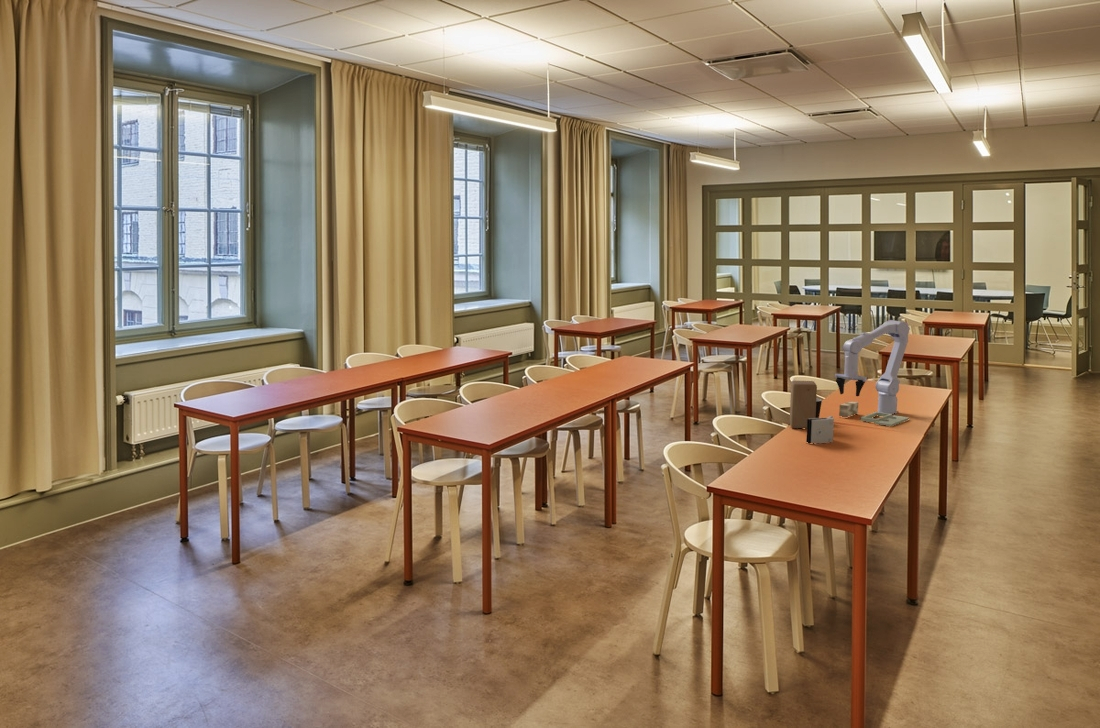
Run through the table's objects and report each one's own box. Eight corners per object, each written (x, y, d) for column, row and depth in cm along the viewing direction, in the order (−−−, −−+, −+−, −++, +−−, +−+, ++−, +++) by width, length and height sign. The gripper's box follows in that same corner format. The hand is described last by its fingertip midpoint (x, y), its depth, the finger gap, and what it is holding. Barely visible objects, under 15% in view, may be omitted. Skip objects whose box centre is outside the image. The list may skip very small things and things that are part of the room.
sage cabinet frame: (877, 415, 384) (877, 411, 383) (909, 420, 373) (909, 415, 373) (858, 422, 370) (859, 417, 369) (890, 427, 359) (891, 422, 359)
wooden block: (815, 430, 354) (817, 384, 351) (791, 429, 356) (793, 383, 353) (812, 425, 364) (814, 380, 361) (789, 424, 366) (791, 380, 363)
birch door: (850, 413, 389) (851, 401, 388) (857, 414, 386) (858, 402, 385) (839, 417, 380) (839, 404, 379) (846, 418, 378) (846, 405, 377)
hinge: (830, 439, 337) (831, 415, 336) (840, 442, 333) (841, 418, 331) (804, 443, 331) (805, 418, 330) (813, 446, 327) (815, 421, 325)
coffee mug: (823, 423, 367) (824, 401, 366) (804, 423, 368) (805, 401, 366) (815, 417, 379) (816, 396, 378) (796, 417, 379) (797, 396, 378)
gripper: (832, 365, 382) (830, 394, 384) (862, 368, 372) (861, 398, 374) (839, 363, 387) (837, 392, 389) (869, 367, 377) (867, 396, 379)
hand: (849, 395), depth 382 cm, fingers open, 7 cm apart
